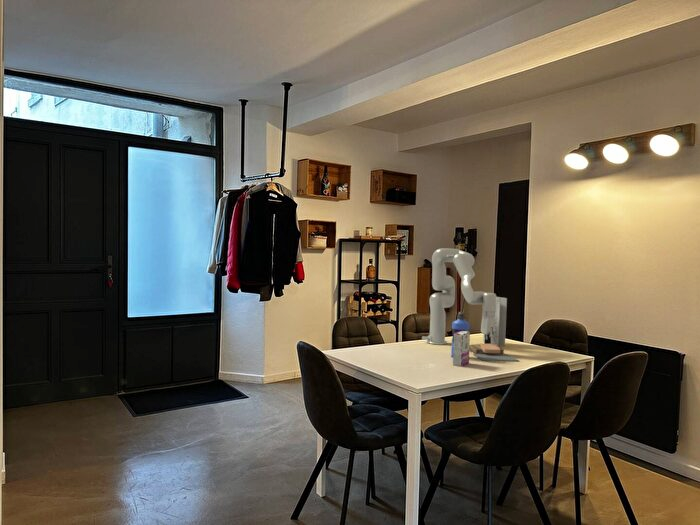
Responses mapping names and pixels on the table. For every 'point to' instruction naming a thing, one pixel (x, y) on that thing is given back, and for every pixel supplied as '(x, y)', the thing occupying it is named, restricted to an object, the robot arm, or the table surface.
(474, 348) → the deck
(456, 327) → the water bottle
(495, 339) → the tall grey box
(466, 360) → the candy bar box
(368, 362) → the table surface
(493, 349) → the tile
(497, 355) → the mat
